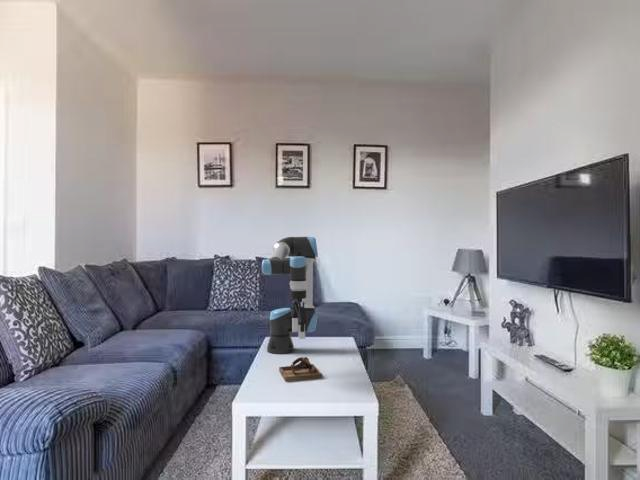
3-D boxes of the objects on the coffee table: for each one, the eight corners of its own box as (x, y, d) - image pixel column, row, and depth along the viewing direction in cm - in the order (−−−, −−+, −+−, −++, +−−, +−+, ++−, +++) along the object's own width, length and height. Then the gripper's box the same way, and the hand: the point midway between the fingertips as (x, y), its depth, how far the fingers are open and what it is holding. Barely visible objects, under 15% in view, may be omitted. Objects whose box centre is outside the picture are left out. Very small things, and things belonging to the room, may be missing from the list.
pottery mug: (312, 378, 186) (303, 363, 185) (295, 385, 189) (286, 370, 188) (317, 363, 198) (309, 349, 197) (301, 370, 200) (292, 356, 199)
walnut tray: (279, 371, 197) (279, 366, 197) (313, 368, 201) (313, 364, 201) (285, 381, 182) (285, 377, 182) (321, 378, 186) (321, 373, 186)
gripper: (284, 286, 204) (285, 329, 205) (296, 293, 181) (296, 342, 181) (299, 285, 207) (299, 328, 207) (313, 293, 183) (313, 341, 183)
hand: (298, 335), depth 194 cm, fingers open, 13 cm apart
